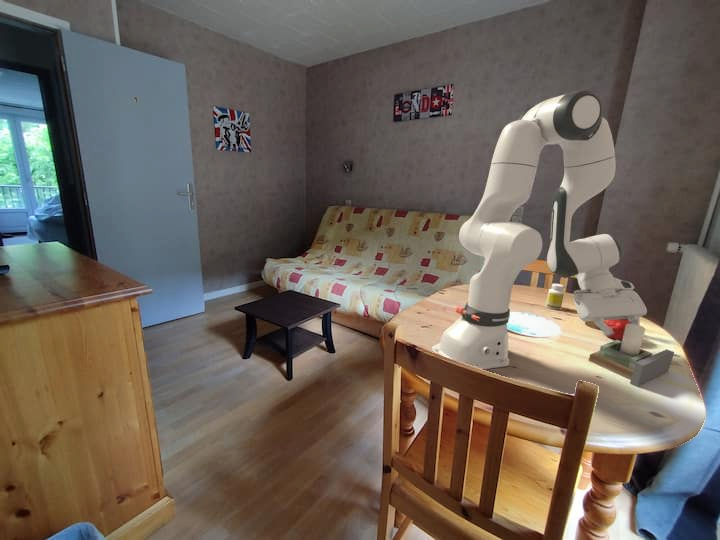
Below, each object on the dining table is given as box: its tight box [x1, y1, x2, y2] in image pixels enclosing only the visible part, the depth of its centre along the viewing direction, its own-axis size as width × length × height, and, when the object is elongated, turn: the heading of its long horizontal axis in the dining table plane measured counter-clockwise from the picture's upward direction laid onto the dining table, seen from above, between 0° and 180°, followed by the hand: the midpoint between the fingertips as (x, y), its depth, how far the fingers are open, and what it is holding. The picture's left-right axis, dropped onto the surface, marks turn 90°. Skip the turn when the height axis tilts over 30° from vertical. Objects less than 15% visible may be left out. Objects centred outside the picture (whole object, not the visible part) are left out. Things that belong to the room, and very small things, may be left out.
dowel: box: [620, 324, 646, 357], centre depth 87 cm, size 4×4×10 cm
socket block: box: [588, 339, 654, 381], centre depth 89 cm, size 12×11×5 cm
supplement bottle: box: [545, 283, 565, 310], centre depth 130 cm, size 5×5×10 cm
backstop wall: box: [629, 349, 675, 387], centre depth 83 cm, size 16×2×6 cm, turn 116°
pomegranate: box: [604, 319, 631, 341], centre depth 105 cm, size 10×10×9 cm
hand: (623, 333), depth 89 cm, fingers open, 8 cm apart
